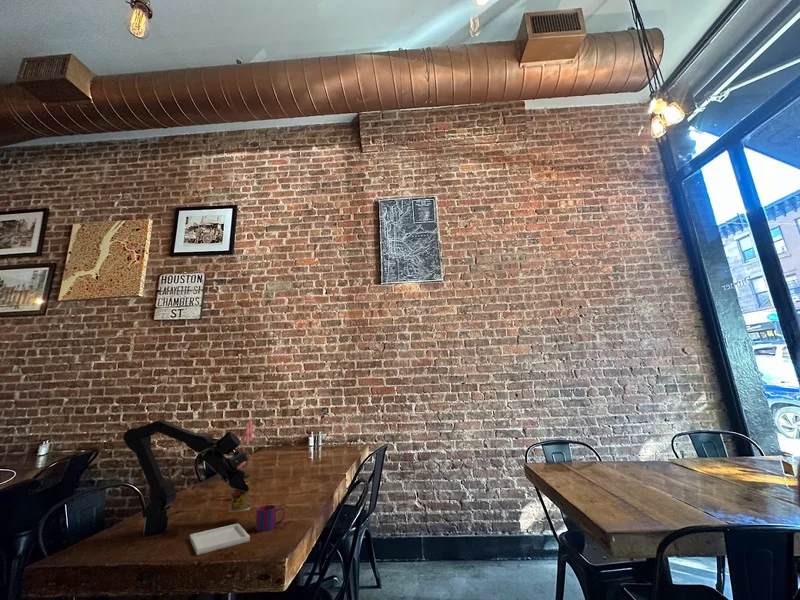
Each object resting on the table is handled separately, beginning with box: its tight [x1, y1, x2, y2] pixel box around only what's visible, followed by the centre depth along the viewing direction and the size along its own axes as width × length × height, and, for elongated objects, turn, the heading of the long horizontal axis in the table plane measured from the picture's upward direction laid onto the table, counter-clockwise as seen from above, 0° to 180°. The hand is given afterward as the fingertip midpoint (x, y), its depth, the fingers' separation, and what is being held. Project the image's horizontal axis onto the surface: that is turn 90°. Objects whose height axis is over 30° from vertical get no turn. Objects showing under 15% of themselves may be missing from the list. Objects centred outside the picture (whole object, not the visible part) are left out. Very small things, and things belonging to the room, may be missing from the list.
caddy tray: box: [189, 523, 251, 556], centre depth 121 cm, size 16×16×2 cm
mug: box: [255, 504, 286, 533], centre depth 132 cm, size 7×10×7 cm
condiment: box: [228, 473, 252, 513], centre depth 141 cm, size 7×8×12 cm
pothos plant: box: [222, 419, 263, 504], centre depth 176 cm, size 15×26×35 cm, turn 4°
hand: (246, 488), depth 141 cm, fingers closed on condiment, 6 cm apart
